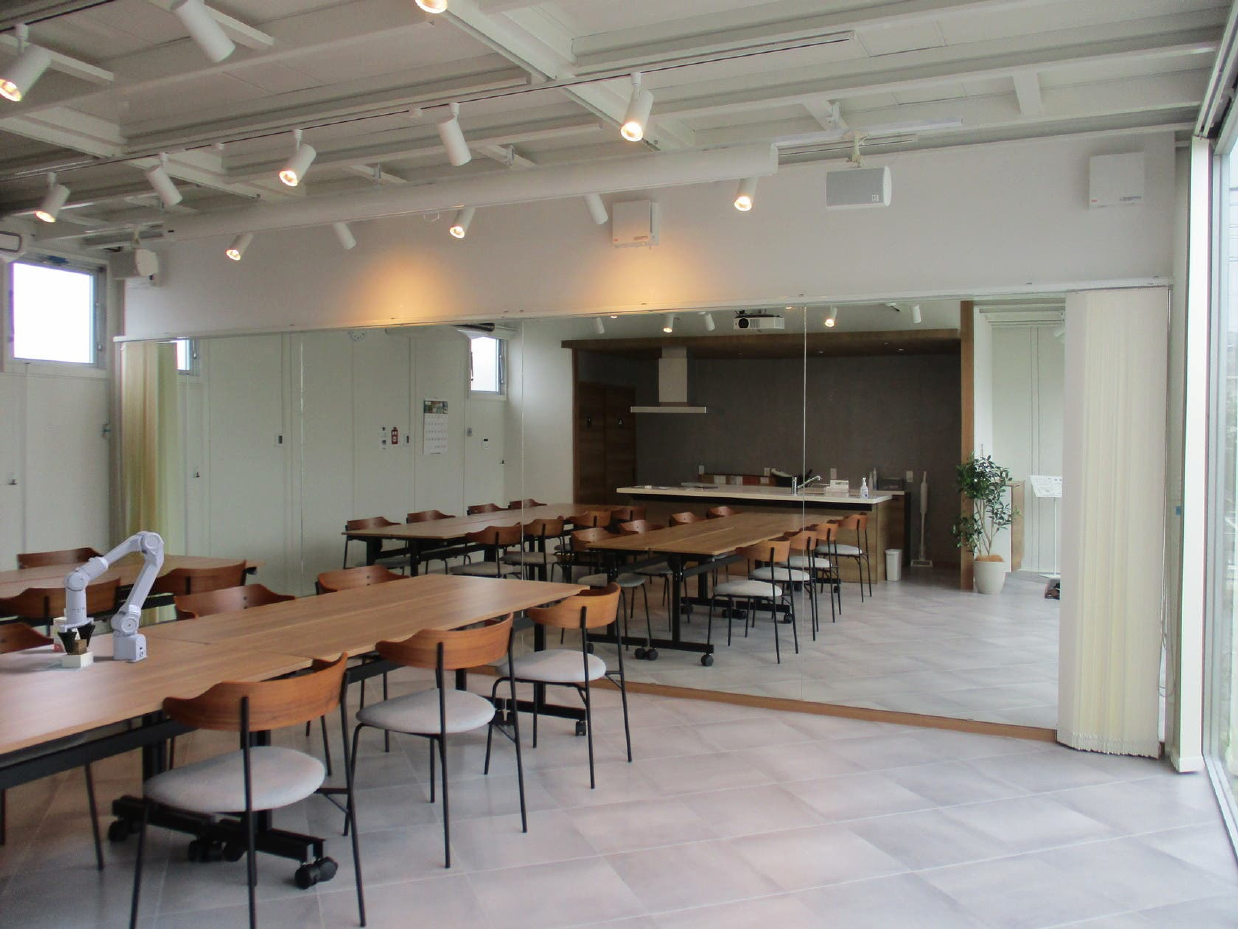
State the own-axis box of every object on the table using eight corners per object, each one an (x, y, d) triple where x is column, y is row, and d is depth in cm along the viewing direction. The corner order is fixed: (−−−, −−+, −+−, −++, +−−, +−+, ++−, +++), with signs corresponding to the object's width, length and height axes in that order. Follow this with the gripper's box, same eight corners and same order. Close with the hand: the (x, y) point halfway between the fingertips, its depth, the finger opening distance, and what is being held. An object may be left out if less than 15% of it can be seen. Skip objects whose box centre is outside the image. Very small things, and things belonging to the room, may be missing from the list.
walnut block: (87, 654, 308) (86, 639, 308) (79, 657, 304) (78, 642, 304) (75, 654, 308) (75, 639, 308) (67, 657, 304) (66, 642, 304)
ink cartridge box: (53, 651, 331) (51, 610, 331) (64, 648, 336) (63, 607, 336) (72, 652, 329) (71, 611, 329) (84, 649, 334) (82, 608, 333)
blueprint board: (97, 665, 309) (97, 651, 309) (76, 673, 298) (75, 658, 298) (57, 665, 310) (57, 650, 310) (34, 673, 299) (34, 658, 299)
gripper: (78, 604, 313) (80, 644, 313) (49, 612, 299) (50, 655, 299) (98, 604, 313) (100, 645, 313) (70, 612, 298) (71, 655, 298)
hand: (77, 649), depth 306 cm, fingers open, 7 cm apart
